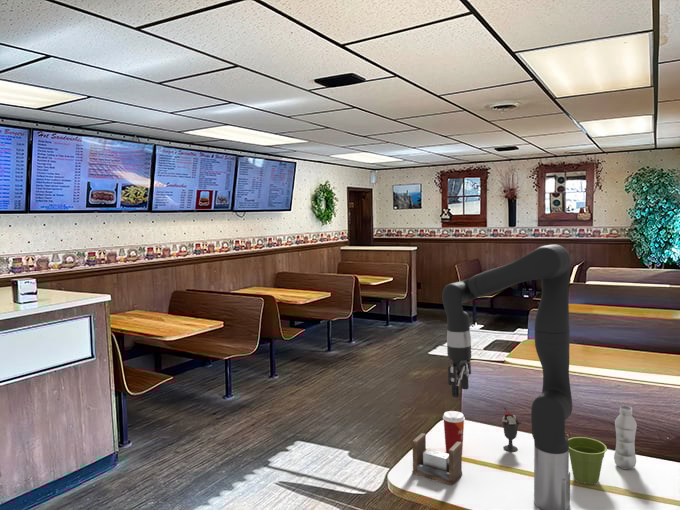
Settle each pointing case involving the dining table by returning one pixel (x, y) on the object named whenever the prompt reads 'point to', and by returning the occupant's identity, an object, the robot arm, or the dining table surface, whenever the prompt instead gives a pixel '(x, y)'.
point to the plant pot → (586, 459)
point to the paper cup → (453, 428)
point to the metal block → (436, 460)
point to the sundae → (510, 430)
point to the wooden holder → (433, 473)
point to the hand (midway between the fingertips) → (460, 392)
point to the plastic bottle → (625, 439)
